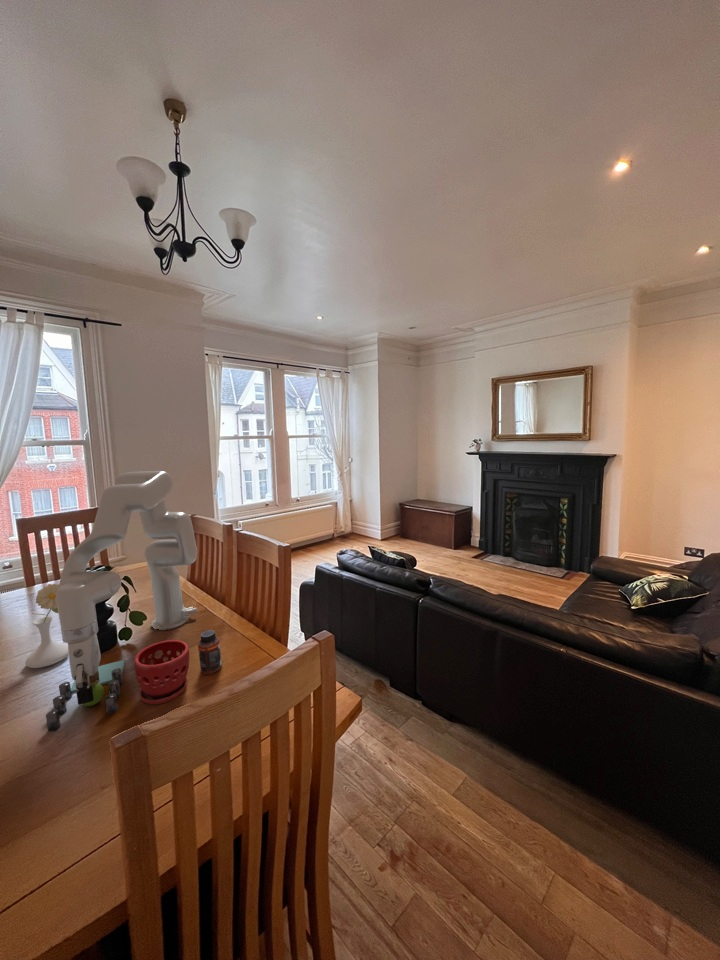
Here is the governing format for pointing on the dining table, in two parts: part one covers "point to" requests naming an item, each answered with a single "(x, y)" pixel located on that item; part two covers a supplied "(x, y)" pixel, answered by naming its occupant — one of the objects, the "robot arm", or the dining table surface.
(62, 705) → the spacer posts
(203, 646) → the supplement bottle
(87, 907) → the dining table surface
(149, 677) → the plant pot
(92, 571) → the robot arm
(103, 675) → the teal mat
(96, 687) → the snail figurine
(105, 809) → the dining table surface
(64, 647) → the flower in vase
